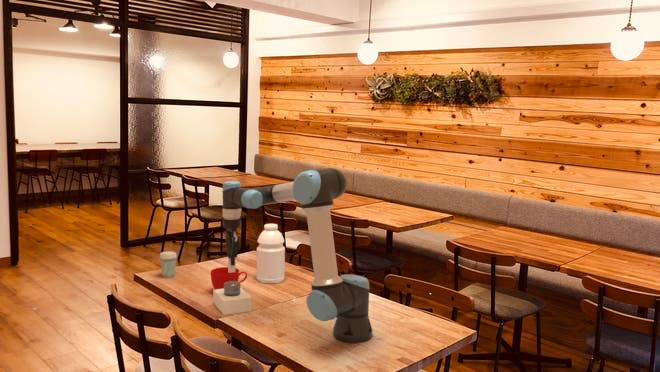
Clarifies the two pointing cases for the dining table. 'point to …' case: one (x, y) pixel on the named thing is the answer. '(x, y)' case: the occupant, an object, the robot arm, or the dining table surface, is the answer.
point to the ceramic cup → (224, 277)
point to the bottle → (270, 255)
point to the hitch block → (232, 302)
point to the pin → (232, 288)
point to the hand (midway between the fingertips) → (231, 271)
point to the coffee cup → (168, 263)
